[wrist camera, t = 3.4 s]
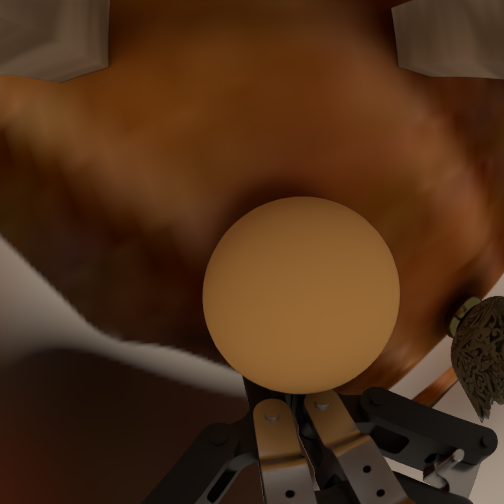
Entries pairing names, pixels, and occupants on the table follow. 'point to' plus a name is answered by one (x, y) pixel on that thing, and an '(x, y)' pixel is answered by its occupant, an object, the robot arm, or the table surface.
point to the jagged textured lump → (478, 349)
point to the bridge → (97, 27)
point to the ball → (301, 295)
